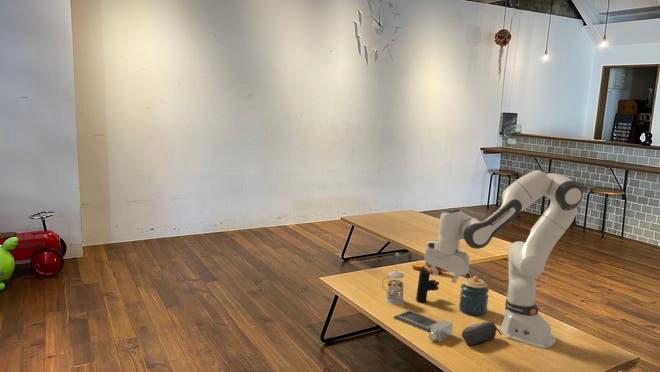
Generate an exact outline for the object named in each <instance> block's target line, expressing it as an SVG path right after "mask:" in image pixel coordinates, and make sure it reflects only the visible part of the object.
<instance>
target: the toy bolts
mask: <svg viewBox="0 0 660 372" xmlns="http://www.w3.org/2000/svg"><path fill="white" fill-rule="evenodd" d="M411 265H412V269H414V270H418V271H420V270H425V267H426V266H427V267H428V268H429V269H428V271H429V272H430V275H433V270H432V267H431V266H432V264H429V263H426V262H425V263H423V262H418V261H417V262H416V261H415V262H412V263H411ZM436 269H437V271H438V273H440V274H443V270H442V269H443V268H440V267H436Z"/></svg>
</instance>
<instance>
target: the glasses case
mask: <svg viewBox="0 0 660 372" xmlns="http://www.w3.org/2000/svg"><path fill="white" fill-rule="evenodd" d="M499 329H500V328H498V327H497V326H496V324H495V323H494V322H493V321H483V322H478V323H475V324H473V325H470V326H467V327H465V328H463V330H462V332H461V337H462V339H463V340H464V341H465V344H466V345H469V346H473V345H477V344H479V343H483V342H485V341H488V340H491V339H494V338H495V337H496V332H498V333H499V335H500V336H502V335H503V333H502V331H501V330H499Z"/></svg>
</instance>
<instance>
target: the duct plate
mask: <svg viewBox="0 0 660 372" xmlns="http://www.w3.org/2000/svg"><path fill="white" fill-rule="evenodd" d="M393 320H398V321H399V322H402V323H405V324H407V325H410V326H411V325H412V327H414V328H416V327H417V328H416V329H419V330H421V329H422V330H421V331H424V332H426V331H427V333H431V332H430V331H431V326H433V325H435V324H437V323H438V322H439V320H435V319H434V318H433V319H432V318H430V317H429V316H425V315H422V314H420V313H418V312H415V311H412V310H410V309H408V310H405V311H404V312H402V313H399V314H396V315H395V316H393Z"/></svg>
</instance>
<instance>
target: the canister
mask: <svg viewBox="0 0 660 372" xmlns="http://www.w3.org/2000/svg"><path fill="white" fill-rule="evenodd" d="M460 288H461V291H460V299H459V306H458V307H459V311H460V312H461V313H463V315H467V316H473V317H482V316H485V315H487V312H488V299H489V295H488V292H490V289H489V287H488V283H487V282H486V281H485V280H483V279H481V278H479V276H478V275H474V276H473V277H468V278H466V279H464V280H463V281H462V284H461V285H460Z"/></svg>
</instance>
